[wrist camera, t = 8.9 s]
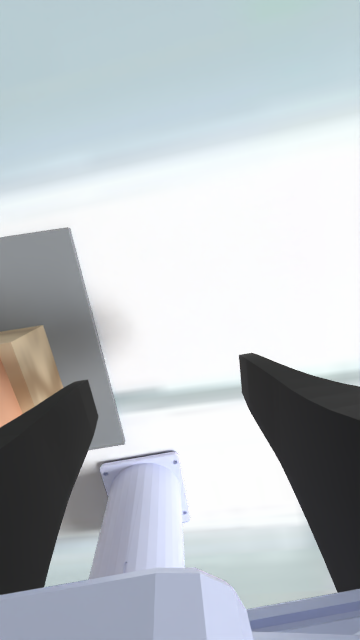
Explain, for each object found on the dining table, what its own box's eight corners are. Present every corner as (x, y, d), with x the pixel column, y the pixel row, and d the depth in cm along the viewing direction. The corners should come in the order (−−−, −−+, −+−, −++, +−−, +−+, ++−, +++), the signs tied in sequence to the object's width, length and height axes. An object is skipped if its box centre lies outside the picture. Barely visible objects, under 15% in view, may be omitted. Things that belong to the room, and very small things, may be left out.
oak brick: (69, 407, 21) (47, 441, 17) (4, 418, 21) (-33, 454, 17) (43, 324, 19) (10, 342, 15) (-30, 336, 19) (-82, 356, 15)
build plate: (125, 441, 23) (124, 444, 22) (-36, 467, 22) (-40, 471, 22) (70, 228, 17) (67, 227, 17) (-143, 260, 17) (-151, 259, 17)
